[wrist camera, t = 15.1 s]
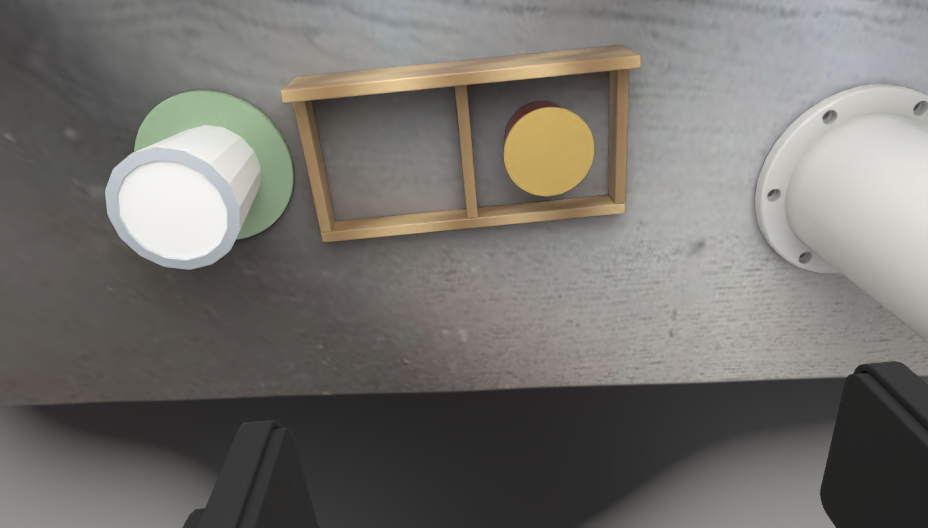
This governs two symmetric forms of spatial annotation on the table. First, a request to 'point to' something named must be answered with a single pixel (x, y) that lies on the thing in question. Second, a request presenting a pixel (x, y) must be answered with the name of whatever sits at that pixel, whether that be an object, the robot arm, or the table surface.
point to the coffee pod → (547, 149)
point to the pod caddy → (466, 136)
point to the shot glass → (184, 196)
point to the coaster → (243, 122)
